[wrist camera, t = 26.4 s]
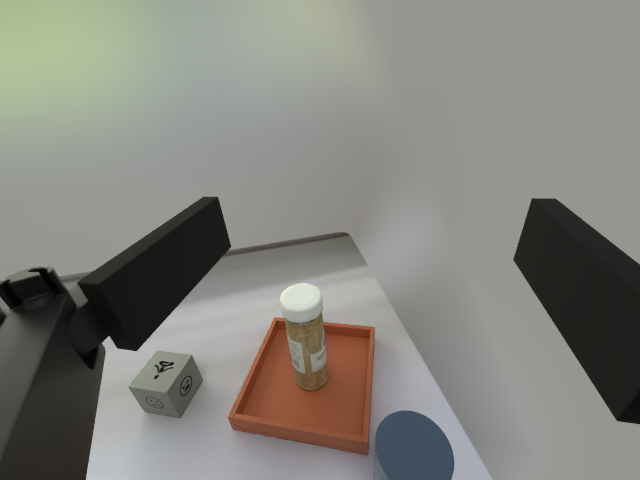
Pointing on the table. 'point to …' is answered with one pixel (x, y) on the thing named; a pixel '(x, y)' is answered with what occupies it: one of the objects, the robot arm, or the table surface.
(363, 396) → the tray
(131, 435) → the table surface
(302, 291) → the spice jar
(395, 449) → the blue can
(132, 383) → the dice cube
